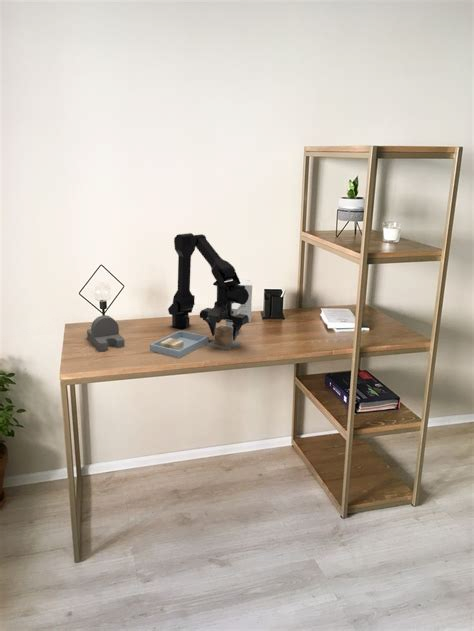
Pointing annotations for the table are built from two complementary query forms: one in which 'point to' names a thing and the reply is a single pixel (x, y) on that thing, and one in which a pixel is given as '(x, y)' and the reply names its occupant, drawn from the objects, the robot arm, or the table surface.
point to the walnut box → (223, 335)
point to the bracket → (105, 333)
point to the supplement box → (247, 306)
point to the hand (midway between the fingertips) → (223, 337)
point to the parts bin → (189, 344)
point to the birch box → (172, 344)
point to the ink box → (234, 314)
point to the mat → (224, 346)
